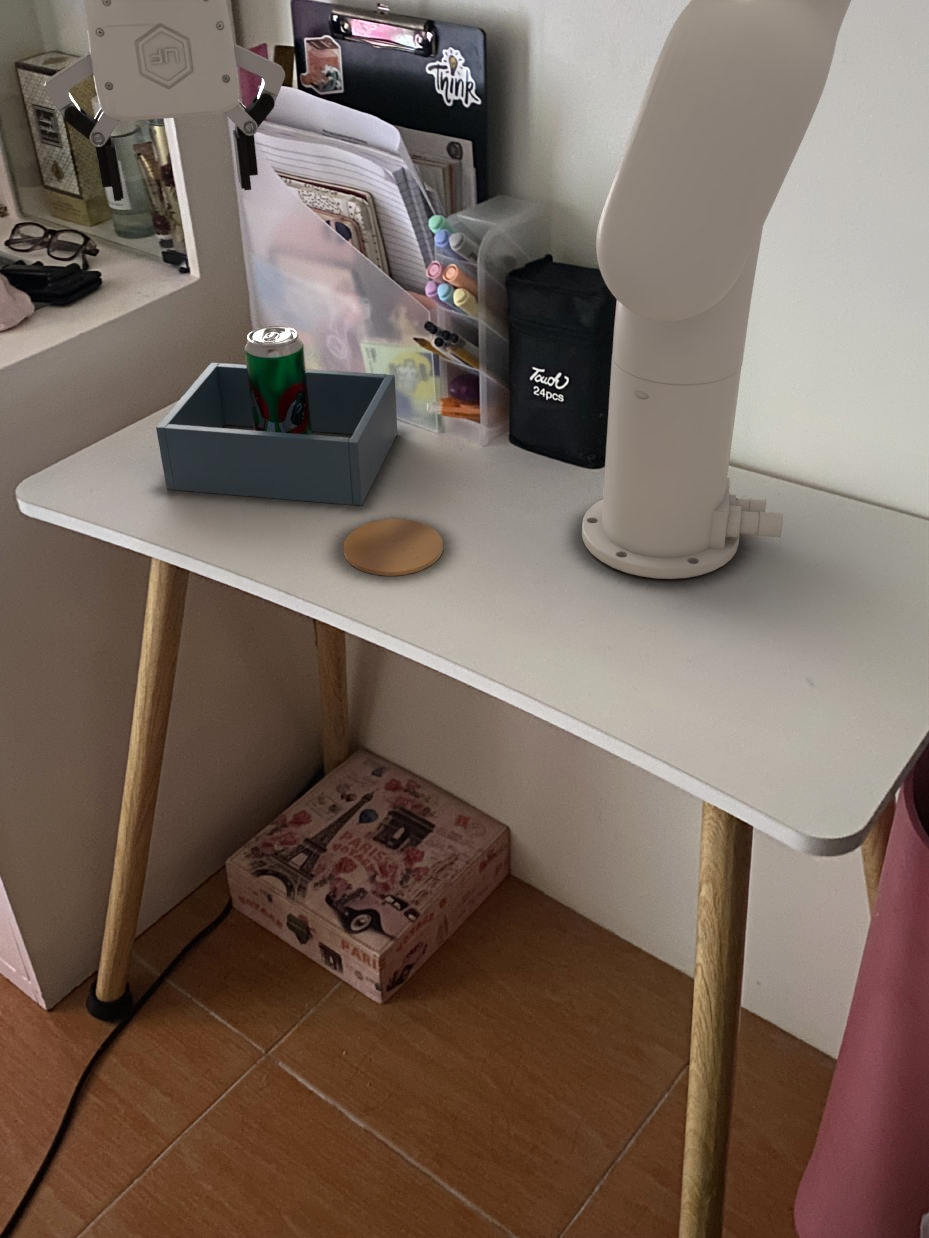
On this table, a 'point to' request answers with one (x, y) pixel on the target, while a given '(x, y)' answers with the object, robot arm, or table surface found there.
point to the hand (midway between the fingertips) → (182, 190)
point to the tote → (280, 438)
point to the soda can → (277, 380)
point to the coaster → (393, 547)
